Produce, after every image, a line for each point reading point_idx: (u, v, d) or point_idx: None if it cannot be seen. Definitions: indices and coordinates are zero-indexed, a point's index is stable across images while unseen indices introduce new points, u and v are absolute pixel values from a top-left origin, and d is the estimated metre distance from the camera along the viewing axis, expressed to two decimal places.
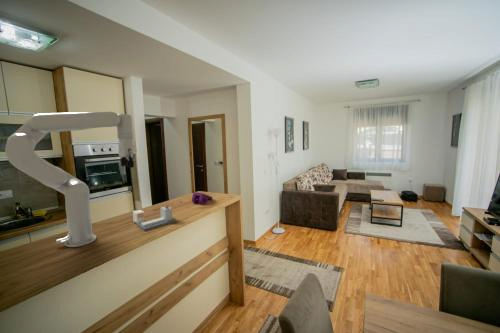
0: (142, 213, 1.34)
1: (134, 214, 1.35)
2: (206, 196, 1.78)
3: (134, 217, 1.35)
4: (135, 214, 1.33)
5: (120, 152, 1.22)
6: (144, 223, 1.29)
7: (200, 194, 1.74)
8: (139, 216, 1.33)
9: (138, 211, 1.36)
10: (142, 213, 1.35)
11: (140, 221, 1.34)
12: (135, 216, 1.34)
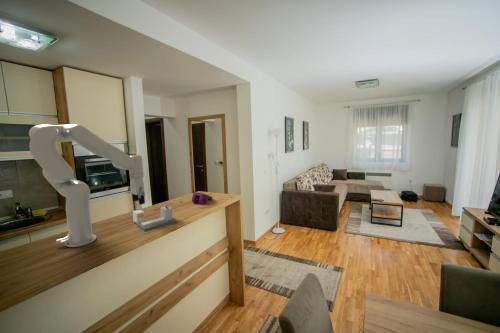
0: (142, 213, 1.34)
1: (134, 214, 1.35)
2: (206, 196, 1.78)
3: (134, 217, 1.35)
4: (135, 214, 1.33)
5: (132, 190, 1.33)
6: (144, 223, 1.29)
7: (200, 194, 1.74)
8: (139, 216, 1.33)
9: (138, 211, 1.36)
10: (142, 213, 1.35)
11: (140, 221, 1.34)
12: (135, 216, 1.34)
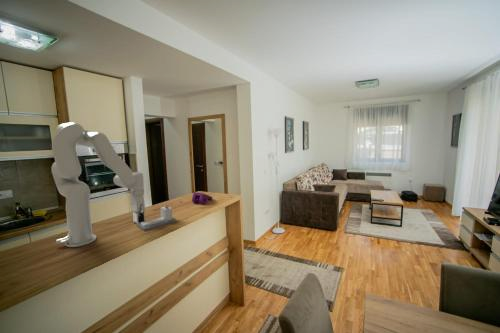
0: None
1: (134, 214, 1.35)
2: (206, 196, 1.78)
3: (134, 217, 1.35)
4: (135, 214, 1.33)
5: (132, 207, 1.34)
6: (144, 223, 1.29)
7: (200, 194, 1.74)
8: None
9: None
10: None
11: None
12: (135, 216, 1.34)
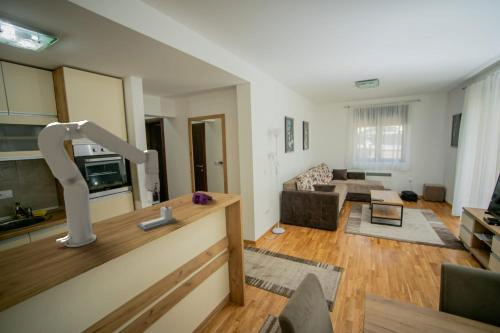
0: None
1: (148, 193, 1.30)
2: (206, 196, 1.78)
3: (148, 196, 1.31)
4: (150, 193, 1.29)
5: (147, 185, 1.29)
6: (144, 223, 1.29)
7: (200, 194, 1.74)
8: None
9: None
10: None
11: None
12: (150, 195, 1.30)
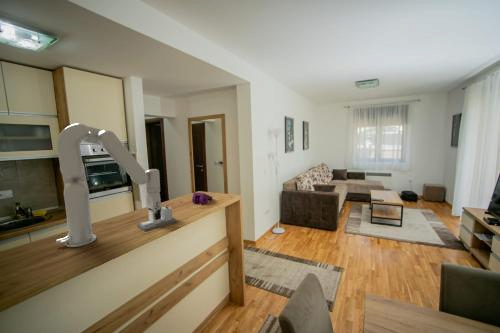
0: None
1: (150, 213, 1.32)
2: (206, 196, 1.78)
3: (150, 216, 1.32)
4: (151, 213, 1.31)
5: (148, 204, 1.31)
6: (144, 223, 1.29)
7: (201, 194, 1.74)
8: None
9: (154, 210, 1.33)
10: None
11: (156, 220, 1.31)
12: (151, 215, 1.31)
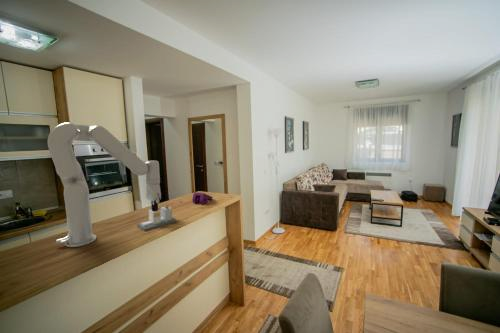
0: (158, 212, 1.32)
1: (150, 213, 1.32)
2: (207, 196, 1.78)
3: (150, 216, 1.32)
4: (151, 213, 1.31)
5: (148, 196, 1.30)
6: (144, 223, 1.29)
7: (201, 194, 1.74)
8: (155, 215, 1.30)
9: None
10: (159, 212, 1.32)
11: (156, 220, 1.31)
12: (151, 215, 1.31)
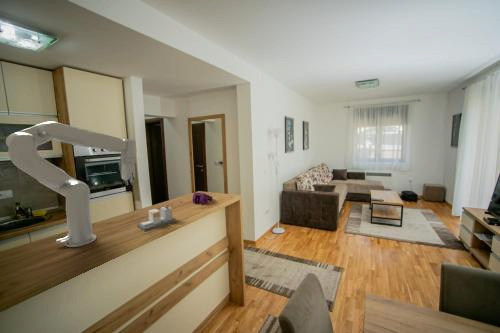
0: (158, 212, 1.32)
1: (150, 213, 1.32)
2: (207, 196, 1.78)
3: (150, 216, 1.32)
4: (151, 213, 1.31)
5: (122, 175, 1.27)
6: (144, 223, 1.29)
7: (201, 194, 1.74)
8: (155, 215, 1.30)
9: (154, 210, 1.33)
10: (158, 213, 1.32)
11: (156, 220, 1.31)
12: (151, 215, 1.31)
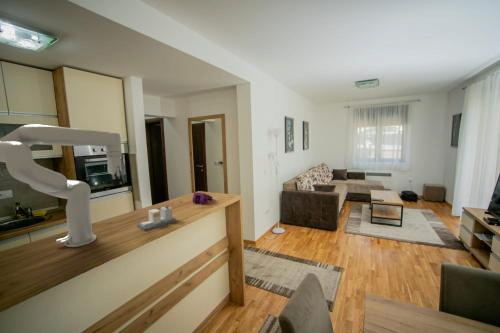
0: (158, 212, 1.32)
1: (150, 213, 1.32)
2: (207, 196, 1.78)
3: (150, 216, 1.32)
4: (151, 213, 1.31)
5: (109, 169, 1.26)
6: (144, 223, 1.29)
7: (201, 194, 1.74)
8: (155, 215, 1.30)
9: (154, 210, 1.33)
10: (158, 213, 1.32)
11: (156, 220, 1.31)
12: (151, 215, 1.31)
